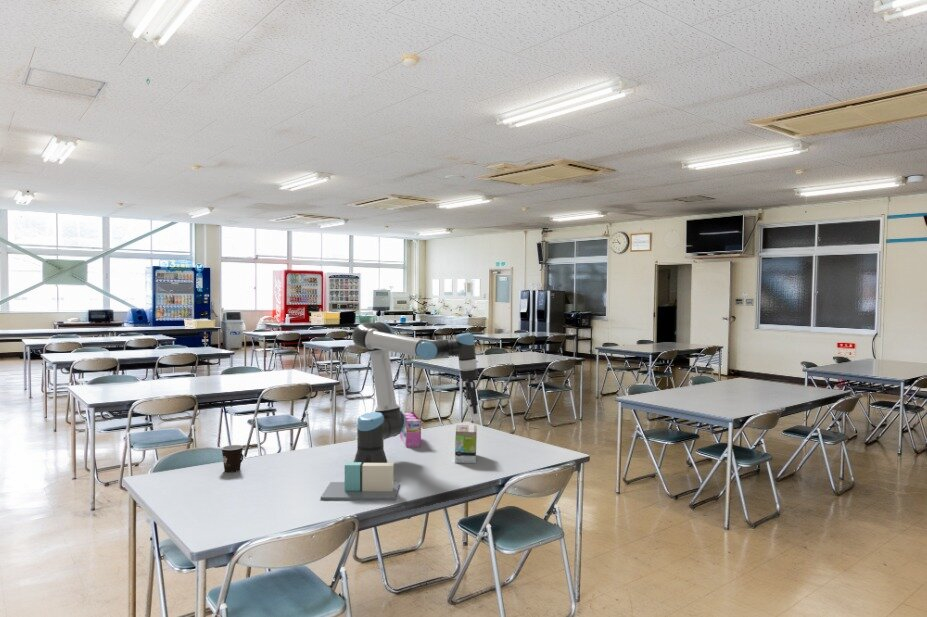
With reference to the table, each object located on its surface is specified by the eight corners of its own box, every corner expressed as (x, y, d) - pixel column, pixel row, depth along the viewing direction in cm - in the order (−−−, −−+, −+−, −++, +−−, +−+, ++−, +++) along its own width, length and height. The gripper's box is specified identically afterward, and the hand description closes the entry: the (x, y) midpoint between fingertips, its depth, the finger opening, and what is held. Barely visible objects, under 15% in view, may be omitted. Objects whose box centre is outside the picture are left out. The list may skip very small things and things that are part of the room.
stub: (344, 490, 230) (344, 465, 230) (346, 487, 234) (346, 462, 234) (359, 490, 230) (360, 465, 230) (361, 487, 234) (361, 462, 234)
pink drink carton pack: (399, 436, 323) (399, 411, 322) (413, 435, 325) (413, 411, 324) (405, 447, 299) (406, 420, 299) (421, 446, 301) (421, 420, 301)
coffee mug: (220, 468, 261) (220, 446, 260) (241, 466, 265) (241, 444, 264) (223, 476, 250) (223, 452, 250) (244, 473, 254) (244, 450, 254)
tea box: (476, 463, 272) (476, 431, 272) (454, 463, 273) (454, 431, 272) (476, 454, 287) (476, 424, 287) (455, 454, 288) (455, 424, 287)
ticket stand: (320, 499, 223) (320, 470, 223) (330, 484, 241) (330, 457, 241) (394, 500, 223) (395, 471, 223) (399, 484, 241) (399, 458, 241)
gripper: (481, 372, 244) (486, 422, 245) (473, 364, 268) (478, 410, 269) (463, 374, 243) (468, 425, 244) (457, 366, 268) (462, 412, 269)
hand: (473, 417), depth 257 cm, fingers open, 13 cm apart
